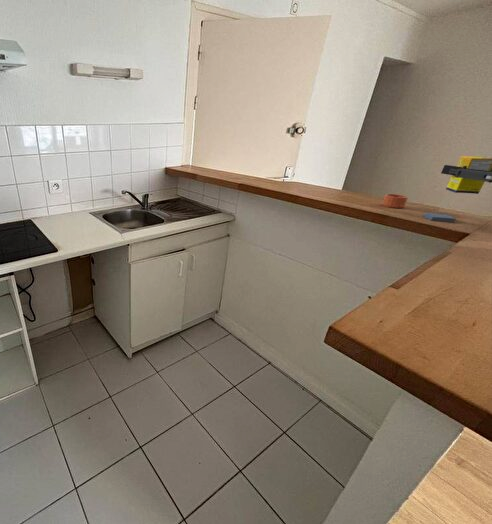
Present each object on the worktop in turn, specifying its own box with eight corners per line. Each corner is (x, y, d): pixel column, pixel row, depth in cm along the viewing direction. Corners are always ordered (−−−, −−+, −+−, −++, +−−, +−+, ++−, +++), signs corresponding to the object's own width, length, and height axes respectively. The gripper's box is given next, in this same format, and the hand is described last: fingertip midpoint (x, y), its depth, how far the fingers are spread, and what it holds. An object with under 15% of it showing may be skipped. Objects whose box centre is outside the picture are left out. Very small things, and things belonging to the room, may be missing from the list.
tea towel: (445, 218, 94) (447, 214, 93) (454, 222, 90) (456, 218, 89) (423, 216, 96) (424, 212, 95) (430, 220, 92) (432, 216, 91)
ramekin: (399, 205, 109) (403, 194, 107) (407, 209, 103) (411, 198, 102) (379, 203, 111) (382, 193, 109) (385, 207, 105) (389, 197, 104)
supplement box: (467, 190, 95) (484, 156, 90) (478, 194, 90) (497, 158, 85) (444, 189, 97) (460, 155, 92) (454, 192, 92) (472, 157, 87)
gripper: (496, 195, 76) (420, 180, 96) (571, 195, 76) (479, 180, 97) (512, 166, 73) (430, 157, 93) (590, 166, 73) (492, 157, 93)
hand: (455, 169), depth 95 cm, fingers closed on supplement box, 7 cm apart
